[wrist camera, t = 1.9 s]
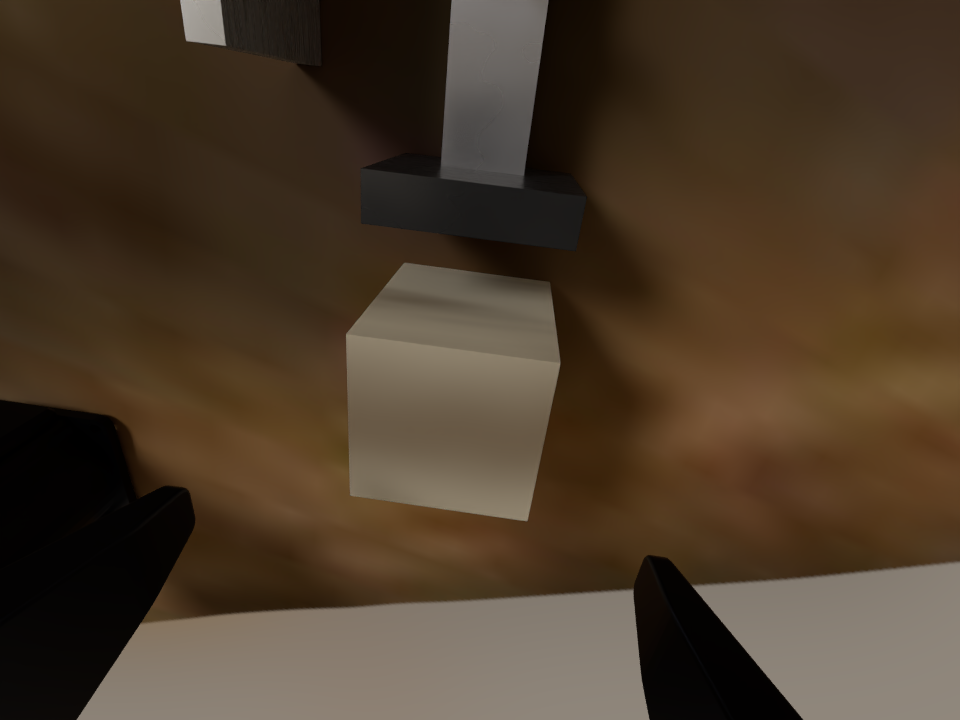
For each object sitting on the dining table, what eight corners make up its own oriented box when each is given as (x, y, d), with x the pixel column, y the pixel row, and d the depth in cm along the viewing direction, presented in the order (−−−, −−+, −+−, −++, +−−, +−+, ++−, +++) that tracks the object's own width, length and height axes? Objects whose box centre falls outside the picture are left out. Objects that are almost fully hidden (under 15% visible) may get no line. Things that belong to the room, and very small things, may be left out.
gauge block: (527, 404, 19) (527, 521, 13) (400, 387, 19) (350, 495, 14) (549, 281, 16) (560, 363, 11) (404, 262, 16) (346, 334, 11)
